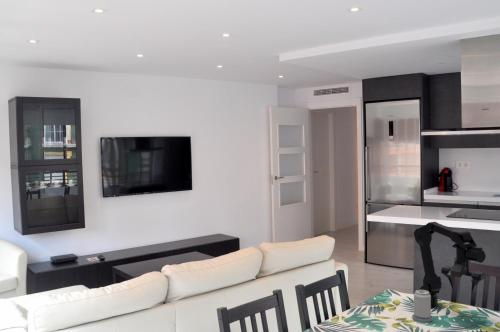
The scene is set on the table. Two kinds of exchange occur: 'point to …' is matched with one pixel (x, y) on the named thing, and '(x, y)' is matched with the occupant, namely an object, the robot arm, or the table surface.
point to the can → (422, 304)
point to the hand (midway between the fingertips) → (462, 291)
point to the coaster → (422, 319)
